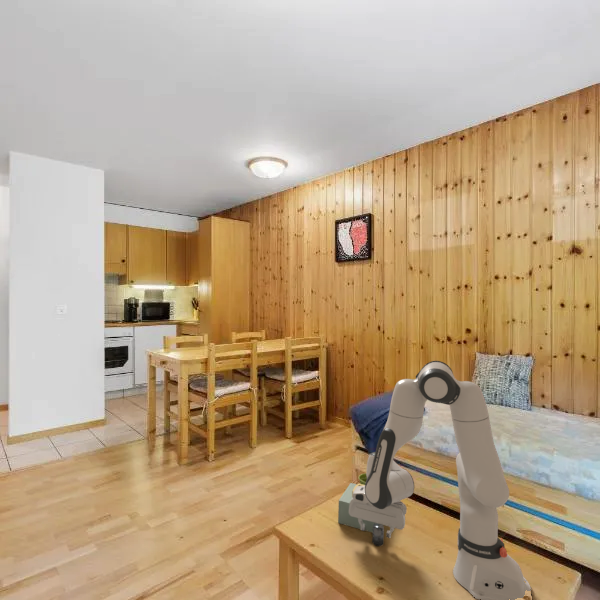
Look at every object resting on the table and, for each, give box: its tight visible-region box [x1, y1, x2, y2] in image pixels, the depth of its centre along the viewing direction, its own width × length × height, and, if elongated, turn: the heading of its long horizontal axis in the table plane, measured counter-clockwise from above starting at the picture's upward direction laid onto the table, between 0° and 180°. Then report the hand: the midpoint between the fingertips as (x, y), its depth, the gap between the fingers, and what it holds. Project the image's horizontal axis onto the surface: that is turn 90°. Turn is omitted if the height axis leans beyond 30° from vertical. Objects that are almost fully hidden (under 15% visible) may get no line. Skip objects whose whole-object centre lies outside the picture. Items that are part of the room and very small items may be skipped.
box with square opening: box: [337, 482, 375, 534], centre depth 158 cm, size 16×16×12 cm
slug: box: [371, 523, 385, 547], centre depth 142 cm, size 4×4×6 cm
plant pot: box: [358, 472, 367, 485], centre depth 174 cm, size 9×9×9 cm
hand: (375, 533), depth 142 cm, fingers open, 8 cm apart
